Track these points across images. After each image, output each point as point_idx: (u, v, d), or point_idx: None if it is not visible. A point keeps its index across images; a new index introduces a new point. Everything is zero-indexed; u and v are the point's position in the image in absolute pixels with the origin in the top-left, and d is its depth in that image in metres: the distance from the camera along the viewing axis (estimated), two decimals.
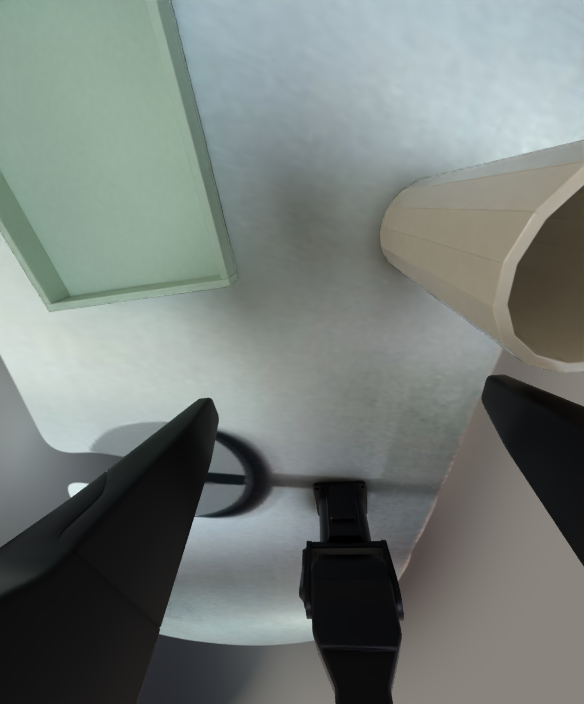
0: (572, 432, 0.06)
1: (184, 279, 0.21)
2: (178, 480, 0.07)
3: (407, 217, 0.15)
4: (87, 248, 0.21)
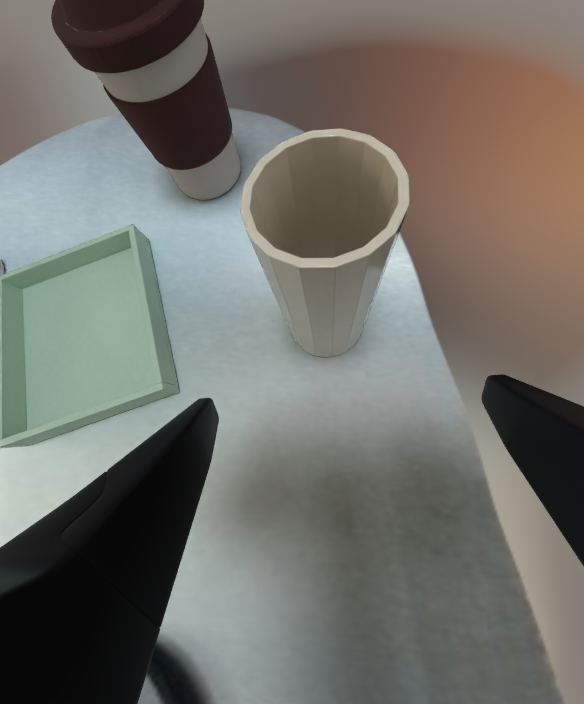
0: (572, 432, 0.06)
1: None
2: (178, 480, 0.07)
3: None
4: (59, 389, 0.25)
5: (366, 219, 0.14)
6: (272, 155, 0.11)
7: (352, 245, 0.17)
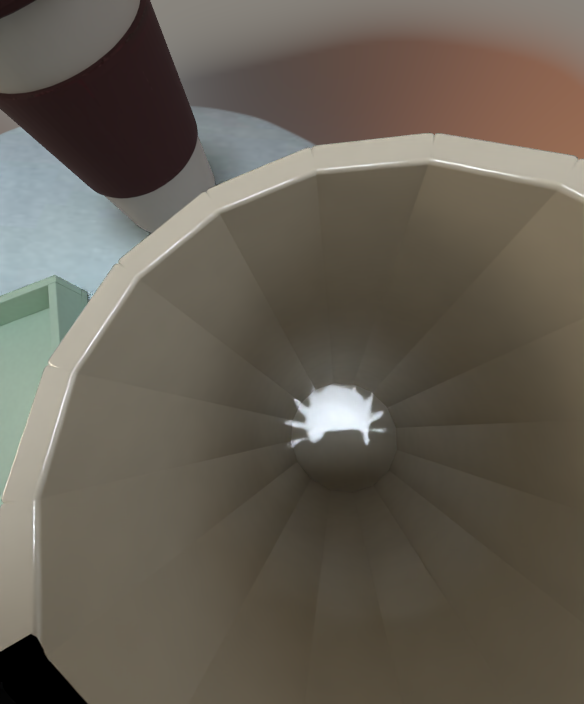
0: None
1: None
2: None
3: None
4: None
5: (457, 357, 0.06)
6: (165, 243, 0.03)
7: (400, 365, 0.08)
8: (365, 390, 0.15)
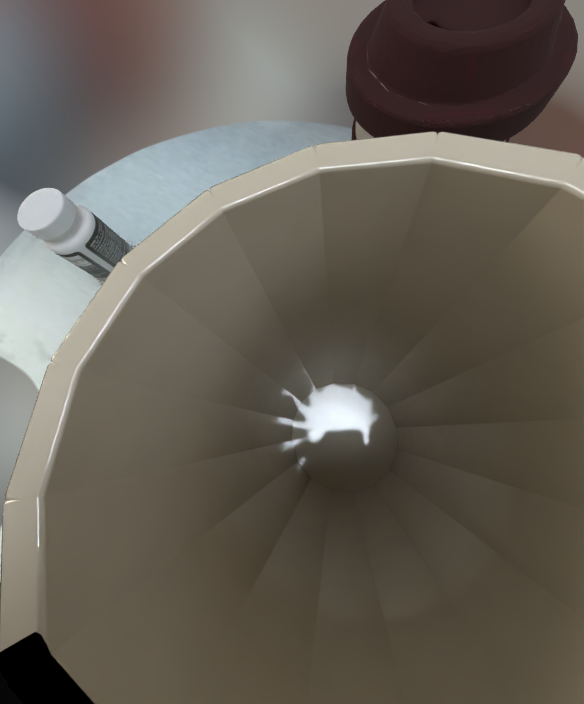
0: None
1: None
2: None
3: None
4: None
5: (458, 356, 0.06)
6: (169, 242, 0.03)
7: (401, 364, 0.08)
8: (365, 390, 0.15)
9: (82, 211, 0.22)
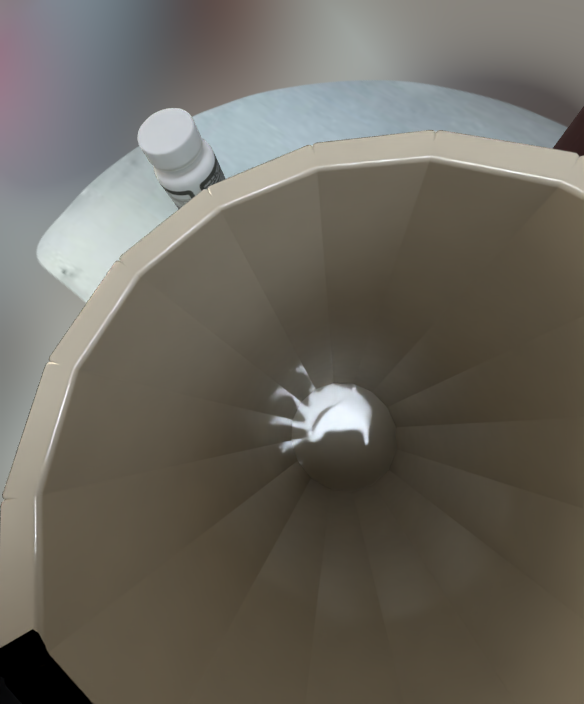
0: None
1: None
2: None
3: None
4: None
5: (456, 355, 0.06)
6: (167, 240, 0.03)
7: (400, 364, 0.08)
8: (365, 389, 0.15)
9: (204, 144, 0.19)
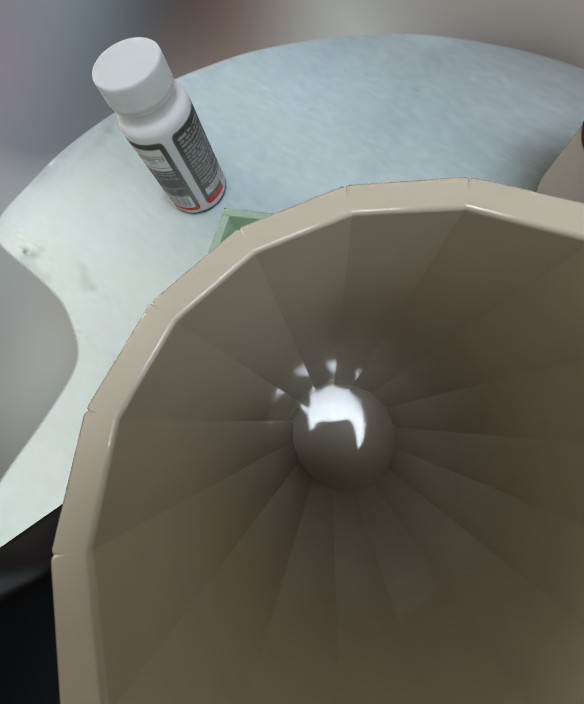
0: None
1: None
2: None
3: None
4: None
5: (466, 372, 0.06)
6: (202, 284, 0.03)
7: (405, 372, 0.09)
8: (365, 390, 0.15)
9: (178, 87, 0.16)
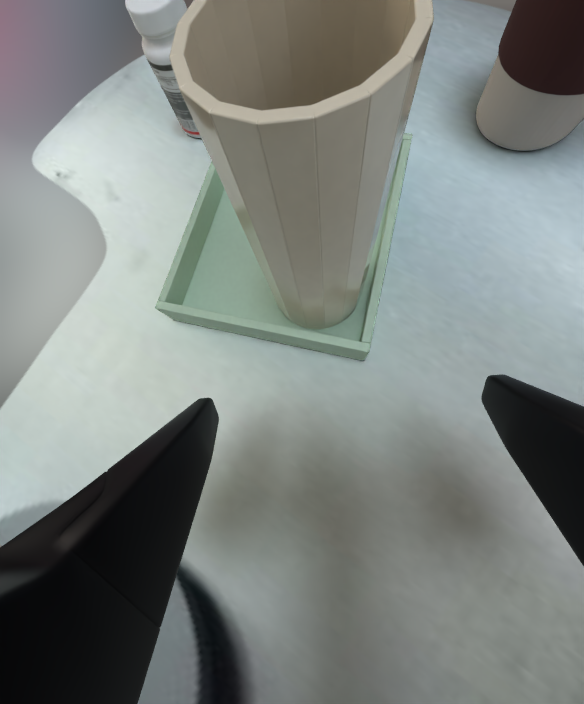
0: (572, 432, 0.06)
1: None
2: (178, 480, 0.07)
3: None
4: (232, 281, 0.21)
5: None
6: None
7: None
8: None
9: None
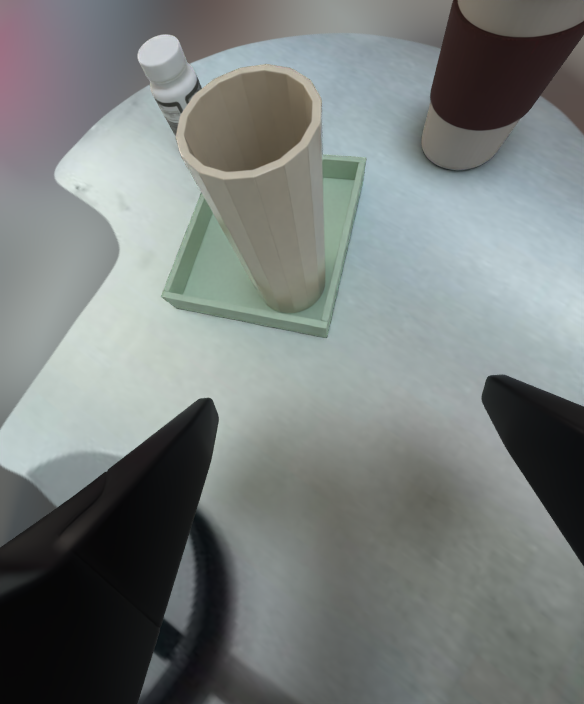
0: (572, 432, 0.06)
1: None
2: (178, 480, 0.07)
3: None
4: (223, 276, 0.26)
5: None
6: (205, 90, 0.12)
7: None
8: None
9: (188, 66, 0.25)
